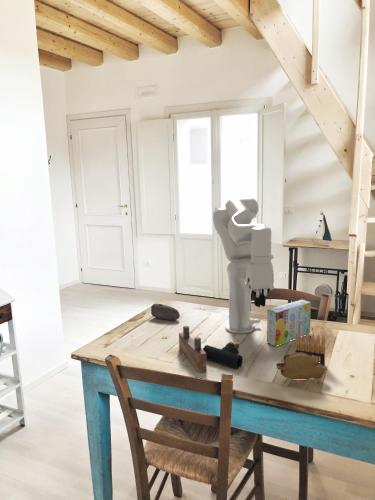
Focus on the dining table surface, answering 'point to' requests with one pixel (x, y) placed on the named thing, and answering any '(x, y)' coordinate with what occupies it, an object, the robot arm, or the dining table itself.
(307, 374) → the wooden carving
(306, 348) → the ammunition clip
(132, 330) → the dining table surface
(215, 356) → the pipe connector
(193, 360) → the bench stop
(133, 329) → the dining table surface
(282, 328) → the snack box
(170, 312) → the perforated stone tool
